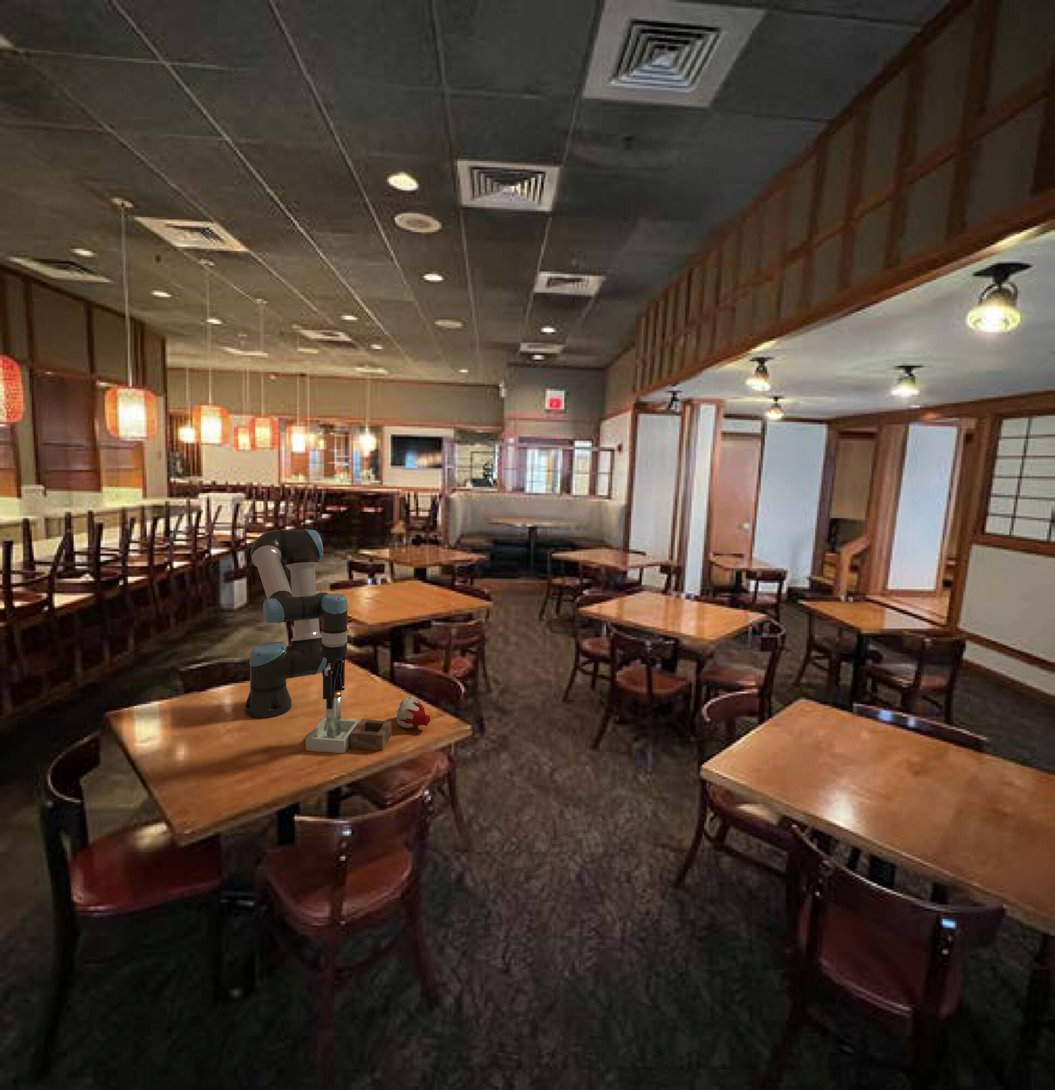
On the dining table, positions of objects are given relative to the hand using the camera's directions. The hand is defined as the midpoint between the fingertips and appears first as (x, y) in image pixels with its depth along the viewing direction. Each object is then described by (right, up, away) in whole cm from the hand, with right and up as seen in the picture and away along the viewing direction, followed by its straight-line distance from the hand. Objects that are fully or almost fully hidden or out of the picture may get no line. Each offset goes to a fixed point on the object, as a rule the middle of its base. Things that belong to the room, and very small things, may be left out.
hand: (333, 713), depth 176 cm
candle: (+22, -9, +14) cm, 28 cm away
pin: (0, -7, +1) cm, 7 cm away
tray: (-1, -9, +1) cm, 9 cm away
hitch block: (+11, -10, +2) cm, 15 cm away
